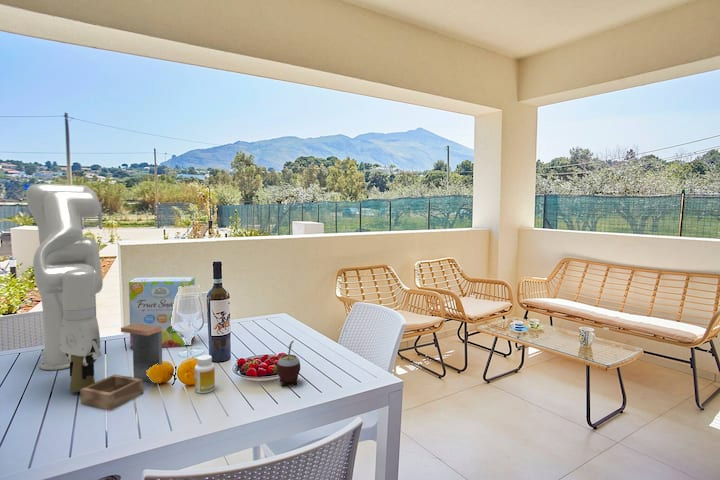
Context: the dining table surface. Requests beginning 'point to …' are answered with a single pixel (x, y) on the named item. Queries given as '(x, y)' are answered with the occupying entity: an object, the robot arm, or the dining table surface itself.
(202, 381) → the supplement bottle
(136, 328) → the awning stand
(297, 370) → the mate gourd
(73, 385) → the cork
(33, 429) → the dining table surface
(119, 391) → the socket block
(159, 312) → the snack box
